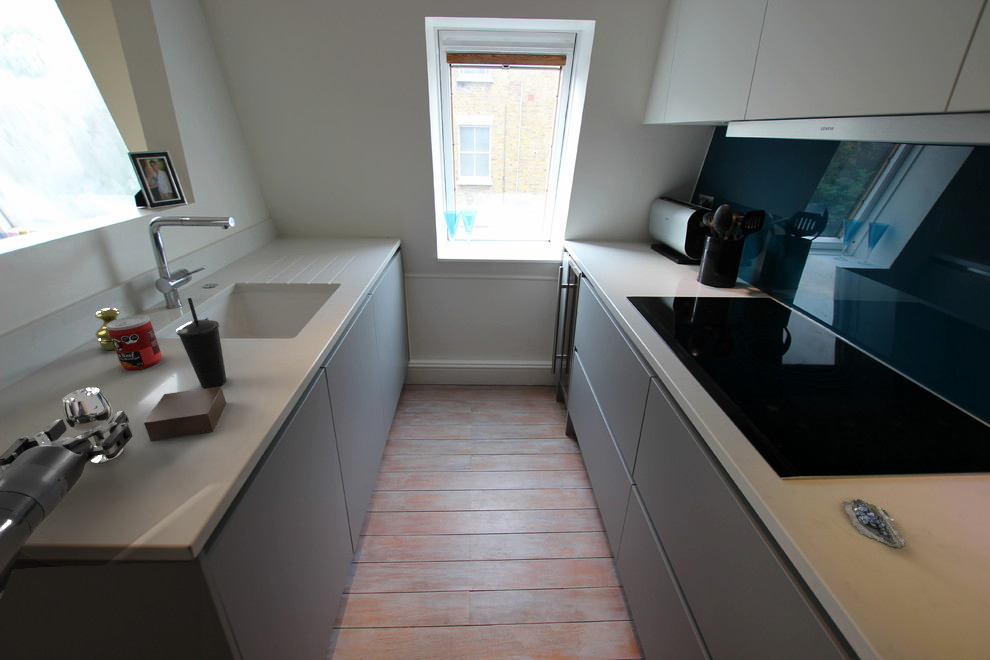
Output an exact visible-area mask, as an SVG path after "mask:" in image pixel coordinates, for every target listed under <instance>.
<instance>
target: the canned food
mask: <svg viewBox="0 0 990 660" xmlns="http://www.w3.org/2000/svg"><path fill="white" fill-rule="evenodd" d="M107 330H108V333H109V335H110V338H111V340H112V343H113V346H114V348H115V350H114V351H115V354H116V357H117V358H118V361H119V364H120V366H121V367H122V368H123V370H126V371H138V370H144V369H147V368H150V367H153V366H155V365H157V364H159V363H160V362H161V360H162V359H163V355H162V351H161V349H160V346H159V343H158V340H157V336H156V333H155V330H154V328H153V324H152V321H151V319H150V316H149V315H144V314H136V315H129V316H123V317H120V318H117V319H116V320H114V321H111V322H110V323H108V324H107Z"/></svg>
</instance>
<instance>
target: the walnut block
mask: <svg viewBox="0 0 990 660" xmlns="http://www.w3.org/2000/svg"><path fill="white" fill-rule="evenodd" d="M226 405H227V401H226V398H225V394H224V390H223V387H222V386H220V387H214V388H206V389H204V388H200V389H192V390H185V391H184V390H183V391H176V392H169V393H164V394H163V395H162V397H161V398H160V399H159V401H158V402H157V404H156V405H155V407H154V408H153V409H152V410H151V412H150V413H149V414H148V416H147V417H146V419H145V420H144V421H143V426H144V428H145V430H146V433H147V436H148V439H149V441H150V442H154V441H161V440H162V441H163V440H168V439H174V438H181V437H186V436H193V435H199V434H207V433H213V432H214V430H215V429H216V426H217V424H218V422H219V421H220V417H221V415H222V413H223V411H224V409H225V407H226Z"/></svg>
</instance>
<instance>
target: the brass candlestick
mask: <svg viewBox="0 0 990 660" xmlns="http://www.w3.org/2000/svg"><path fill="white" fill-rule="evenodd" d="M120 313H121V310H120V309H118V308H117V309H116V308H111V307H105V308H102V309H101V310H99V311H97V312H96V313H95V314H94V317H95V318H96V319H99V320H101V321H102V322H103V323H102V325H101V326H100V327H99V328H98V329H97V330H96V331H95V336H96V338H98V344H99V345H100V349H101V350H105V351H113V350H114V351H115V348H114V346H113V343H112V340H111V338H110V335H109V333H108V330H107V324H108V323H110V322H111V321H114V320H116V319H118V316H119V315H120Z"/></svg>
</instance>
